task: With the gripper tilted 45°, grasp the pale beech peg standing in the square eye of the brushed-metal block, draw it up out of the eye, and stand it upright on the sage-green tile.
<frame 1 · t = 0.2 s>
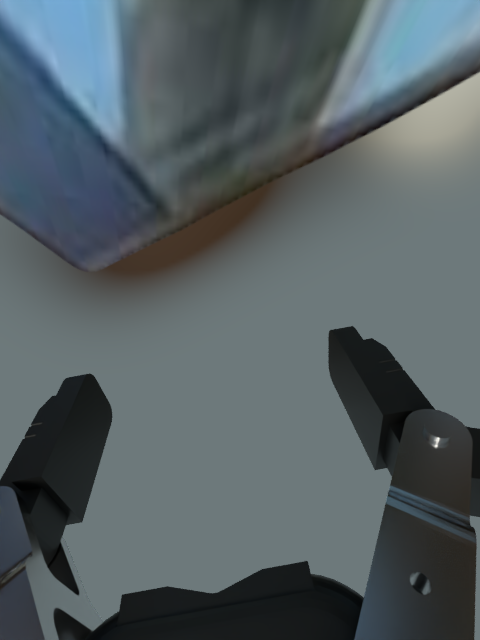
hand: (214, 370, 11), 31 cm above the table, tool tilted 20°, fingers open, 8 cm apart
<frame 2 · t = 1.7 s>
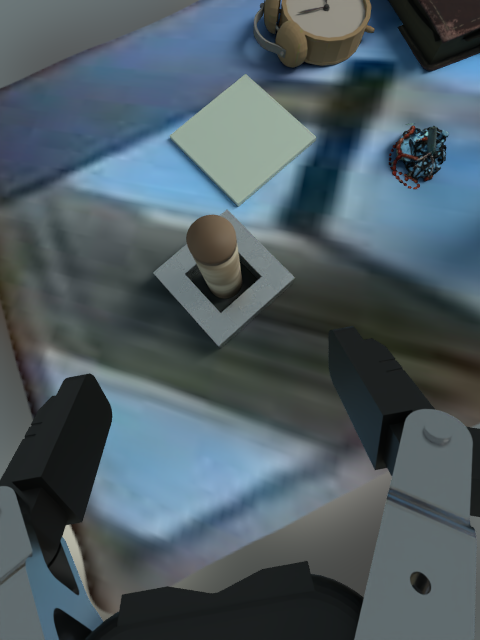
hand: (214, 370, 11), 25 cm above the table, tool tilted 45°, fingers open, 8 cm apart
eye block: (225, 281, 37), on the table
alarm clock: (307, 39, 43), on the table
tile: (242, 139, 40), on the table
beaded bracelet pile: (414, 159, 40), on the table
peg: (219, 264, 31), in the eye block
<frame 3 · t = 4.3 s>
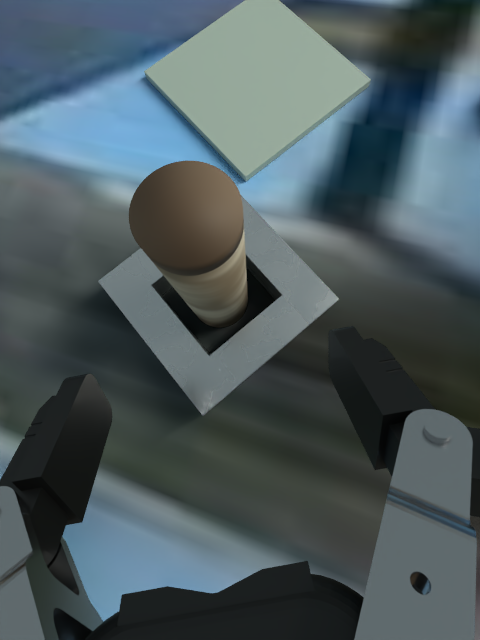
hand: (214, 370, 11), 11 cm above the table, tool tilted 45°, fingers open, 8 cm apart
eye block: (219, 299, 23), on the table
tile: (255, 82, 26), on the table
peg: (208, 271, 17), in the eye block
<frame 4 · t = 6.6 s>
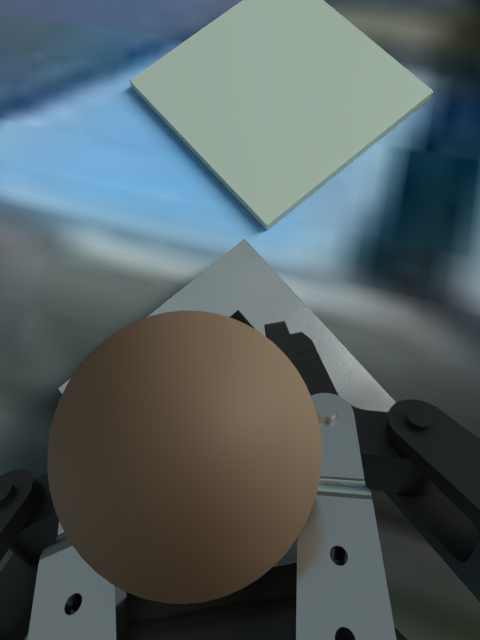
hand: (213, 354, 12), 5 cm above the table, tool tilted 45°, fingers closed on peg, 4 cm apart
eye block: (233, 400, 16), on the table
tile: (276, 94, 20), on the table
peg: (221, 410, 10), in the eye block, touching gripper
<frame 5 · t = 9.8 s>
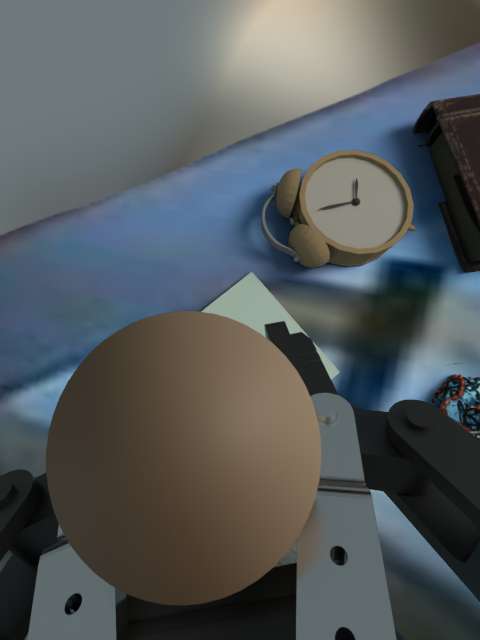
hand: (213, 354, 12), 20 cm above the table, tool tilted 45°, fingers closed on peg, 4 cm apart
alarm clock: (328, 223, 34), on the table
tile: (242, 363, 31), on the table
beaded bracelet pile: (460, 411, 30), on the table
peg: (221, 410, 10), point 20 cm above the table, touching gripper
when the fingers open (7 cm above the table, at t = 12.8 s): peg drops 2 cm, resting on tile.
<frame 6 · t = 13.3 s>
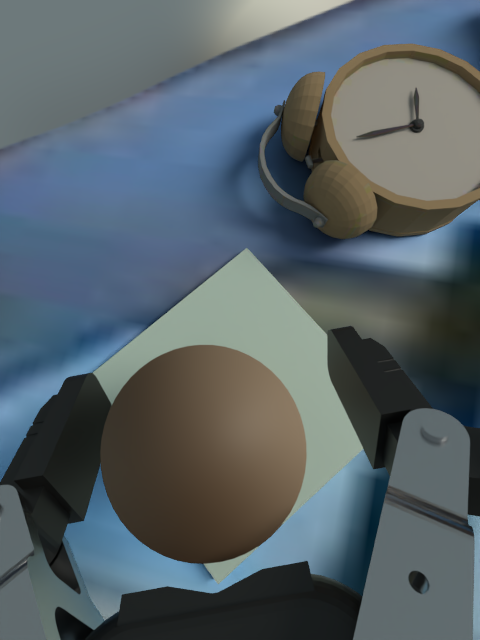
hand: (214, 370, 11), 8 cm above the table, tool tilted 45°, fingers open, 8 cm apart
alarm clock: (365, 171, 22), on the table
tile: (234, 399, 19), on the table
peg: (227, 412, 12), on the tile, point 7 cm above the table
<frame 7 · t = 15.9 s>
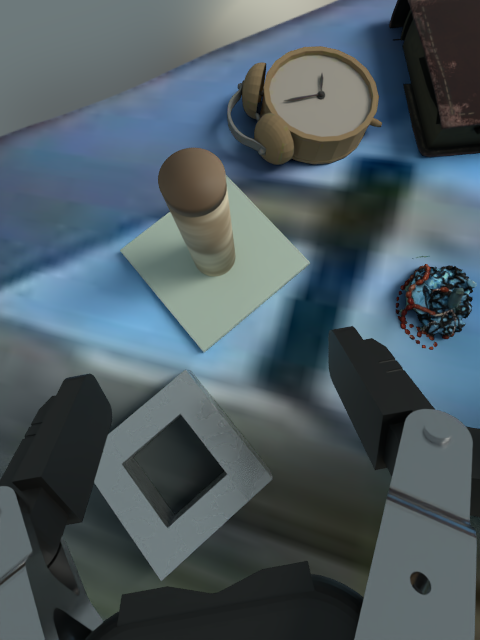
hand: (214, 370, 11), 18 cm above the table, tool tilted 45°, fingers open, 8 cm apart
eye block: (180, 461, 28), on the table
alarm clock: (297, 127, 34), on the table
tile: (214, 258, 31), on the table
beaded bracelet pile: (428, 303, 30), on the table
peg: (205, 226, 25), on the tile, point 7 cm above the table
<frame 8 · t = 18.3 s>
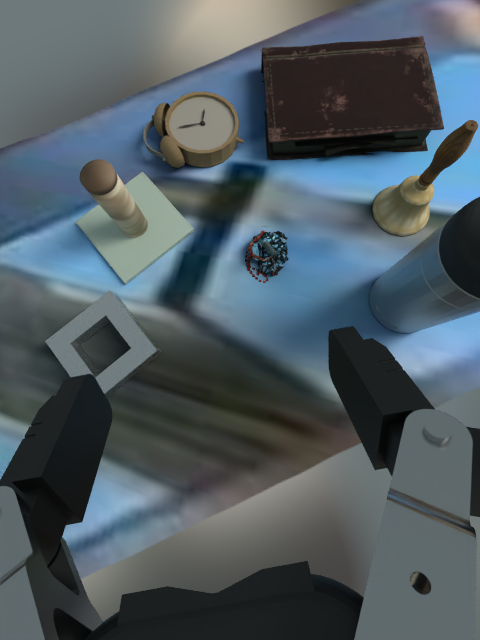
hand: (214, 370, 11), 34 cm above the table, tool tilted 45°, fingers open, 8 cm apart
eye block: (108, 347, 45), on the table
diary: (340, 113, 52), on the table
alarm clock: (194, 142, 52), on the table
tile: (135, 227, 49), on the table
beaded bracelet pile: (267, 255, 48), on the table
hand bell: (399, 211, 48), on the table
peg: (118, 203, 43), on the tile, point 7 cm above the table
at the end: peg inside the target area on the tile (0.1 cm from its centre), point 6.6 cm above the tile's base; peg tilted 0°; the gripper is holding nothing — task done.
